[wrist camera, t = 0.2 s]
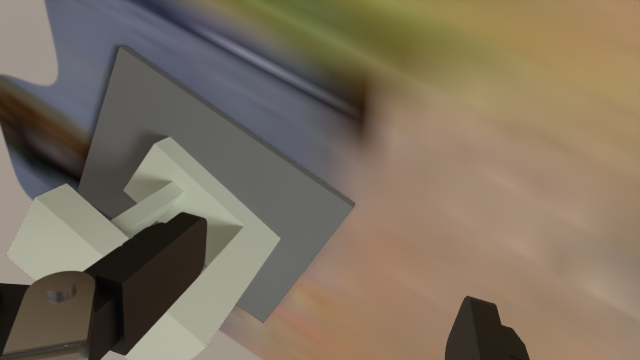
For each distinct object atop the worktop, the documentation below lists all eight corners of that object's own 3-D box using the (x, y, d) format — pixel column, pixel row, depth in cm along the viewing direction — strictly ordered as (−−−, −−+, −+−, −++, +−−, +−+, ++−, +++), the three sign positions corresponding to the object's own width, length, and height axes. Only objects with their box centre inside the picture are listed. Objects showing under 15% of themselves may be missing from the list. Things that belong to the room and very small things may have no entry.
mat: (83, 190, 38) (76, 194, 37) (126, 45, 30) (119, 46, 30) (266, 317, 38) (263, 323, 37) (355, 203, 30) (353, 207, 29)
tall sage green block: (280, 238, 32) (206, 346, 22) (242, 274, 35) (159, 386, 25) (170, 136, 31) (35, 197, 21) (139, 181, 34) (6, 255, 24)
